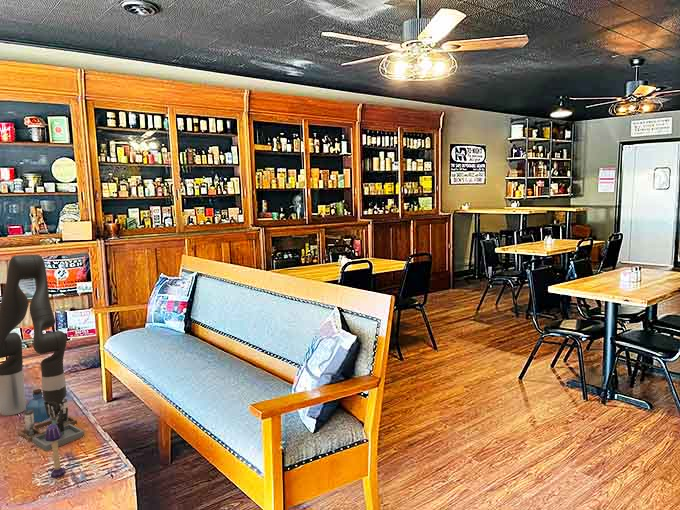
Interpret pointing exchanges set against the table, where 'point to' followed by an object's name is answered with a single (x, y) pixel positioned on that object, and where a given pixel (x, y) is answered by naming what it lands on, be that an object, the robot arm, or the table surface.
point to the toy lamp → (55, 449)
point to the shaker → (55, 422)
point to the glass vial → (29, 423)
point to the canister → (66, 407)
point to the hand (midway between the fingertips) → (58, 430)
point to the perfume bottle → (37, 406)
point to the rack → (22, 432)
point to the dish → (69, 435)
